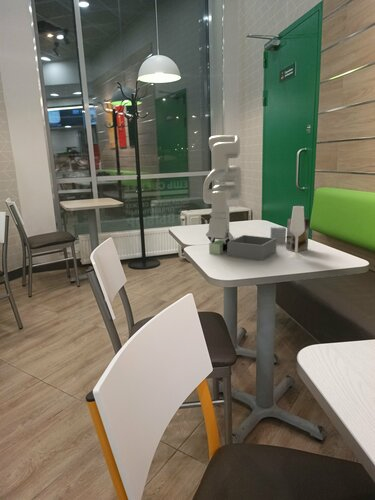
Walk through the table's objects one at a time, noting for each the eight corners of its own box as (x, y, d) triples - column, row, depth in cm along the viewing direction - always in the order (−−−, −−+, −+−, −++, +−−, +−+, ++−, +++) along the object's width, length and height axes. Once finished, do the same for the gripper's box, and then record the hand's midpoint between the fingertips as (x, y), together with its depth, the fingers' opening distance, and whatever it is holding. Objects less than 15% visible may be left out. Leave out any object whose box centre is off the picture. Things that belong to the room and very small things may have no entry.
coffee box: (292, 251, 179) (293, 220, 175) (285, 248, 185) (287, 218, 181) (308, 249, 182) (310, 218, 178) (301, 247, 188) (302, 217, 184)
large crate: (227, 256, 174) (227, 241, 172) (243, 248, 189) (243, 235, 187) (261, 260, 164) (262, 245, 163) (276, 252, 179) (276, 238, 177)
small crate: (209, 252, 181) (209, 243, 180) (219, 248, 189) (218, 239, 188) (219, 254, 178) (219, 244, 177) (229, 250, 186) (229, 240, 184)
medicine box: (284, 241, 201) (284, 226, 199) (285, 243, 197) (286, 228, 195) (270, 241, 202) (270, 226, 200) (271, 243, 198) (271, 228, 195)
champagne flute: (304, 255, 171) (307, 206, 165) (301, 259, 166) (304, 207, 160) (290, 254, 175) (292, 205, 169) (286, 257, 169) (289, 207, 163)
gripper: (200, 215, 181) (201, 249, 185) (230, 217, 171) (230, 253, 175) (208, 213, 187) (208, 246, 191) (237, 215, 177) (237, 250, 181)
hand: (219, 249), depth 183 cm, fingers closed on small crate, 6 cm apart
